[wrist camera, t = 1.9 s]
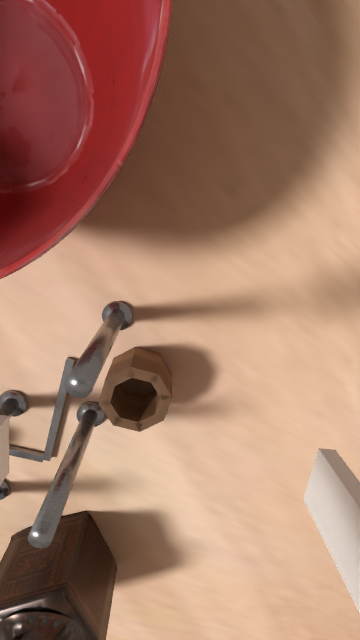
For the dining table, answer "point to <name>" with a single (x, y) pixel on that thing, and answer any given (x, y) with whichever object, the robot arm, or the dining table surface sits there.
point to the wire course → (88, 415)
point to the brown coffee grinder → (57, 584)
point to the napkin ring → (134, 407)
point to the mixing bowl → (69, 110)
